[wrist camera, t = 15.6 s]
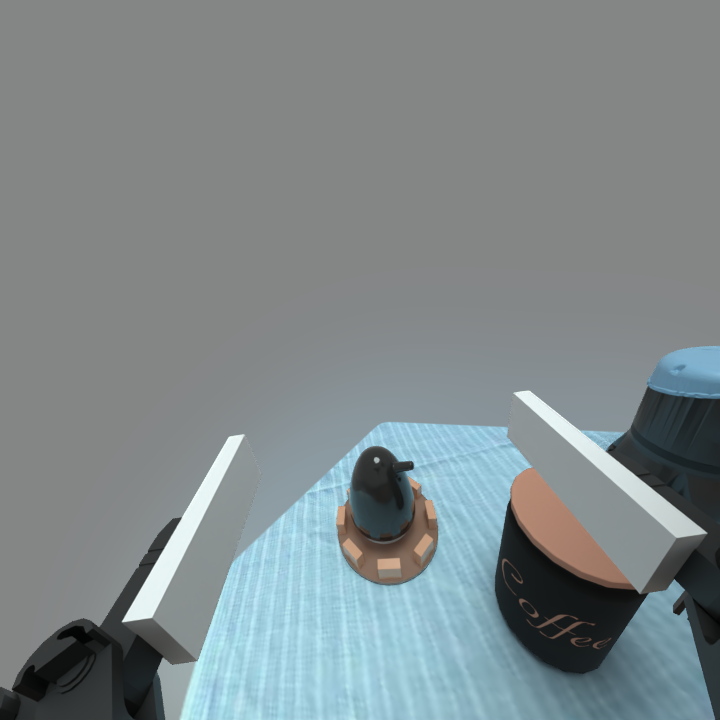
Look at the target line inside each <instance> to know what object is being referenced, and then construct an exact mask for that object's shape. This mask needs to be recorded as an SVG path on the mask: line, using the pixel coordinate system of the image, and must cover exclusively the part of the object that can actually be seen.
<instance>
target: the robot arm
mask: <svg viewBox="0 0 720 720" xmlns="http://www.w3.org/2000/svg"><path fill="white" fill-rule="evenodd" d="M647 385H648V387H647V389H646V392H645V394H644V397H643V399H642V401H641V404H640V406H639V408H638V411H637V413H636V415H635V418H634V420H633V423H632V425H631V428H630V429H629V430H628V431H627V432H626V433H624V434H623V435H622V436H621V437H620V438H618V439H617V440H616V441H615V442H614V443H612V444H611V445H610V446H609V447H608V448H607V450H606V452H605V451H604V450H603V449H602V448H600V447H599V446H598V445H597V444H595V443H594V442H593V441H592V440H590V439H589V438H588V437H587V436H585V435H584V434H583V433H582V432H580V431H579V430H578V429H577V428H575V427H574V426H573V425H571V424H570V423H569V422H568V421H567V420H565V419H564V418H563V417H562V416H560V415H559V414H558V413H557V412H555V411H554V410H553V409H552V408H550V407H549V406H548V405H546V404H545V403H544V402H543V401H542V400H540V399H539V398H538V397H536V396H535V395H534V394H533V393H532V392H530V391H522V392H516V393H513V399H512V406H511V414H510V420H509V427H508V434H507V437H508V438H509V439H510V441H511V442H512V443H513V444H514V445H515V446H516V448H517V449H518V450H519V451H520V452H521V454H522V455H523V456H524V457H525V458H526V459H527V461H528V462H529V463H530V464H531V465H532V467H533V468H534V469H535V470H536V471H537V473H538V474H539V475H540V476H541V477H542V478H543V480H544V481H545V482H546V483H547V484H548V486H549V487H550V488H551V489H552V490H553V492H554V493H555V494H556V495H557V496H558V497H559V499H560V500H561V501H562V502H563V503H564V505H565V506H566V507H567V508H568V509H569V511H570V512H571V513H572V514H573V515H574V516H575V518H576V519H577V520H578V521H579V522H580V524H581V525H582V526H583V527H584V528H585V529H586V531H587V532H588V533H589V534H590V535H591V537H592V538H593V539H594V540H595V541H596V543H597V544H598V545H599V546H600V547H601V548H602V550H603V551H604V552H605V553H606V554H607V556H608V557H609V558H610V559H611V560H612V562H613V563H614V564H615V565H616V566H617V567H618V569H619V570H620V571H621V572H622V573H623V575H624V576H625V577H626V578H627V579H628V580H629V582H630V583H631V584H632V585H633V586H634V588H635V589H636V590H637V591H638V592H639V594H644V593H650V592H657V591H663V590H666V589H667V588H668V587H669V585H670V584H671V583H672V581H673V580H674V579H675V580H676V581H677V582H678V583H679V584H680V585H681V586H682V587H683V588H684V589H685V591H684V592H683V594H682V595H681V596H680V597H679V599H678V600H677V601H676V602H675V604H674V605H673V613H675V614H677V615H680V614H681V612H682V611H683V610H684V609H685V608H686V611H687V614H688V620H689V622H690V626H691V629H692V633H693V637H694V641H695V644H696V648H697V652H698V656H699V660H700V663H701V667H702V671H703V675H704V678H705V682H706V686H707V690H708V694H709V697H710V701H711V705H712V709H713V712H714V716H715V720H720V346H704V347H693V348H686V349H681V350H677V351H674V352H672V353H669V354H667V355H665V356H664V357H663V358H661V359H660V361H659V362H658V364H657V366H656V368H655V370H654V372H653V374H652V375H651V376H650V377H649V378H648V380H647ZM261 476H262V473H261V471H260V468H259V466H258V464H257V461H256V459H255V457H254V454H253V452H252V450H251V448H250V445H249V443H248V441H247V439H246V436H245V434H244V435H237V436H231V437H229V438H228V440H227V441H226V443H225V445H224V446H223V448H222V450H221V452H220V453H219V455H218V457H217V459H216V460H215V462H214V464H213V465H212V467H211V469H210V471H209V472H208V474H207V476H206V478H205V479H204V481H203V483H202V484H201V486H200V488H199V490H198V491H197V493H196V495H195V497H194V498H193V500H192V502H191V504H190V505H189V507H188V509H187V510H186V512H185V514H184V516H183V517H181V518H175V519H172V520H171V521H170V522H169V523H168V524H167V525H166V526H165V528H164V529H163V530H162V531H161V532H160V533H159V534H158V535H157V537H156V539H155V540H154V542H153V543H152V545H151V546H150V548H149V550H148V553H147V554H145V556H144V558H143V559H142V561H141V562H140V564H139V568H137V569H136V570H135V572H134V574H133V575H132V577H131V578H130V580H129V581H128V583H127V585H126V586H125V588H124V589H123V591H122V593H121V594H120V596H119V598H118V599H117V601H116V602H115V604H114V605H113V607H112V609H111V610H110V612H109V613H108V615H107V616H106V618H105V620H104V621H103V623H102V625H101V626H100V627H98V626H97V625H95V624H94V623H93V622H91V621H90V620H87V619H84V618H83V619H80V620H76V621H72V622H71V623H69V624H67V625H66V626H64V627H62V628H61V629H59V630H58V631H56V632H55V633H54V634H53V635H52V636H50V638H48V639H47V640H46V641H45V642H43V643H42V644H41V646H40V647H39V648H38V649H37V650H36V651H35V652H34V653H33V654H32V656H31V657H30V658H29V659H28V660H27V662H26V663H25V665H24V666H23V668H22V669H21V671H20V672H19V674H18V675H17V678H16V680H15V683H14V685H13V687H12V690H13V692H11V691H9V690H7V689H4V688H2V687H0V720H165V715H164V707H163V699H162V692H161V685H160V678H159V676H158V673H157V669H158V667H159V665H160V662H161V660H162V658H165V659H166V660H167V661H168V662H169V663H170V664H172V665H174V664H181V663H188V662H194V661H198V659H199V656H200V653H201V650H202V647H203V644H204V641H205V638H206V636H207V633H208V630H209V627H210V624H211V621H212V618H213V615H214V612H215V609H216V607H217V604H218V601H219V598H220V595H221V592H222V589H223V586H224V583H225V580H226V577H227V575H228V572H229V569H230V566H231V563H232V560H233V557H234V554H235V551H236V548H237V546H238V543H239V540H240V537H241V534H242V531H243V528H244V525H245V522H246V519H247V517H248V513H249V511H250V508H251V505H252V502H253V499H254V496H255V493H256V490H257V488H258V484H259V481H260V479H261Z"/></svg>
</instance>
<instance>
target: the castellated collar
mask: <svg viewBox="0 0 720 720" xmlns="http://www.w3.org/2000/svg"><path fill="white" fill-rule="evenodd" d="M408 479H409V481H410V484H411V487H412V490H413V494H414V498H415V505H416V513H415V518H414V521H413V524H412V526H411V527H410V529H409V530H408V531H407V533H406V534H405V535H404V536H403V537H402V538H401V539H399V540H398V541H396V542H393V543H390V544H378V543H375V542H372V541H370V540H369V539H367V538H366V537H365V536H363V535H362V534H361V533H360V532H359V531H358V530H357V529H356V527H355V525H354V524H353V521H352V518H351V514H350V506H349V490H350V488H349V489H348V490H347V495H348V500H347V502H346V503H345V505H344V506H339V507H338V514H337V524H336V525H337V529H338V538H339V543H340V547H341V550H342V552H343V555H344V557H345V559H346V561H347V562H348V563H349V565H350V566H351V567H352V568H353V569H354V571H355V572H356V573H358V574H359V575H360V576H362V577H363V578H365V579H367V580H369V581H371V582H374V583H377V584H383V585H395V584H401V583H404V582H407V581H409V580H411V579H413V578H415V577H416V576H418V575H419V574H420V573H421V572H422V571H424V570H425V568H426V567H427V566H428V565H429V563H430V562H431V560H432V558H433V556H434V553H435V551H436V547H437V541H438V525H437V518H436V514H435V510H434V506H433V502H432V500H427V499H426V498H425V497H424V496H423V495H422V494H421V485H420V484H419V483H417V482H416V481H414V480H413V479H411V478H410V477H408Z"/></svg>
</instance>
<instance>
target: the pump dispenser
mask: <svg viewBox="0 0 720 720" xmlns="http://www.w3.org/2000/svg"><path fill="white" fill-rule="evenodd" d="M413 469H414V463H413V462H412V461H405V462H399V461H398V459H397V458H396V457H395V456H394V454H393V453H391V452H390V451H389V450H388V449H386V448H384V447H381V446H373V447H369V448H367V449H366V450H365V451H363V452H362V454H361V455H360V456H359V458H358V460H357V462H356V464H355V467H354V470H353V473H352V477H351V482H350V490H349V506H350V514H351V518H352V521H353V524H354V525H355V527H356V529H357V530H358V531H359V532H360V533H361V534H362V535H363V536H365V537H366V538H367V539H369V540H370V541H372V542H375V543H378V544H390V543H393V542H396V541H398V540H399V539H401V538H402V537H403V536H404V535H405V534H406V533H407V531H408V530H409V529H410V527H411V526H412V524H413V521H414V518H415V513H416V505H415V498H414V494H413V490H412V487H411V484H410V481H409V479H408V476H407V474H406V472H405V471H409V470H413Z"/></svg>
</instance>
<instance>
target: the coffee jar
mask: <svg viewBox="0 0 720 720" xmlns="http://www.w3.org/2000/svg"><path fill="white" fill-rule="evenodd" d="M495 592H496V595H497V599H498V603H499V606H500V609H501V611H502V613H503V615H504V617H505V619H506V620H507V622H508V624H509V626H510V628H511V629H512V630H513V631H514V633H515V634H516V635H517V636H518V638H519V639H520V640H521V641H522V643H523V644H524V645H525V646H526V647H527V648H528V649H529V650H531V651H532V652H533V653H534V654H536V655H537V656H538V657H539V658H540V659H542V660H543V661H544V662H546V663H548V664H550V665H552V666H554V667H557V668H559V669H561V670H563V671H566V672H574V673H581V674H584V673H586V672H589V671H592V670H594V669H597V668H598V667H599V666H600V664H601V663H602V661H603V660H604V658H605V657H606V655H607V654H608V652H609V651H610V650H611V648H612V647H613V645H614V644H615V642H616V641H617V639H618V638H619V636H620V635H621V633H622V632H623V630H624V629H625V627H626V626H627V624H628V623H629V622H630V620H631V619H632V617H633V616H634V614H635V613H636V611H637V610H638V608H639V607H640V605H641V604H642V602H643V601H644V599H645V598H646V596H647V595H648V593H644V594H639V592H638V591H637V590H636V589H635V588H634V586H633V585H632V584H631V583H630V582H629V580H628V579H627V578H626V577H625V576H624V575H623V573H622V572H621V571H620V570H619V569H618V567H617V566H616V565H615V564H614V563H613V562H612V560H611V559H610V558H609V557H608V556H607V554H606V553H605V552H604V551H603V550H602V548H601V547H600V546H599V545H598V544H597V543H596V541H595V540H594V539H593V538H592V537H591V535H590V534H589V533H588V532H587V531H586V529H585V528H584V527H583V526H582V525H581V524H580V522H579V521H578V520H577V519H576V518H575V516H574V515H573V514H572V513H571V512H570V511H569V509H568V508H567V507H566V506H565V505H564V503H563V502H562V501H561V500H560V499H559V497H558V496H557V495H556V494H555V493H554V492H553V490H552V489H551V488H550V487H549V486H548V484H547V483H546V482H545V481H544V480H543V478H542V477H541V476H540V475H539V474H538V473H537V471H536V470H535V469H534V468H529V469H526V470H525V471H523V472H522V473H521V474H519V475H518V476H517V477H516V478H515V480H514V482H513V484H512V486H511V499H510V501H509V503H508V506H507V511H506V517H505V523H504V529H503V535H502V540H501V546H500V552H499V558H498V564H497V569H496V575H495Z"/></svg>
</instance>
